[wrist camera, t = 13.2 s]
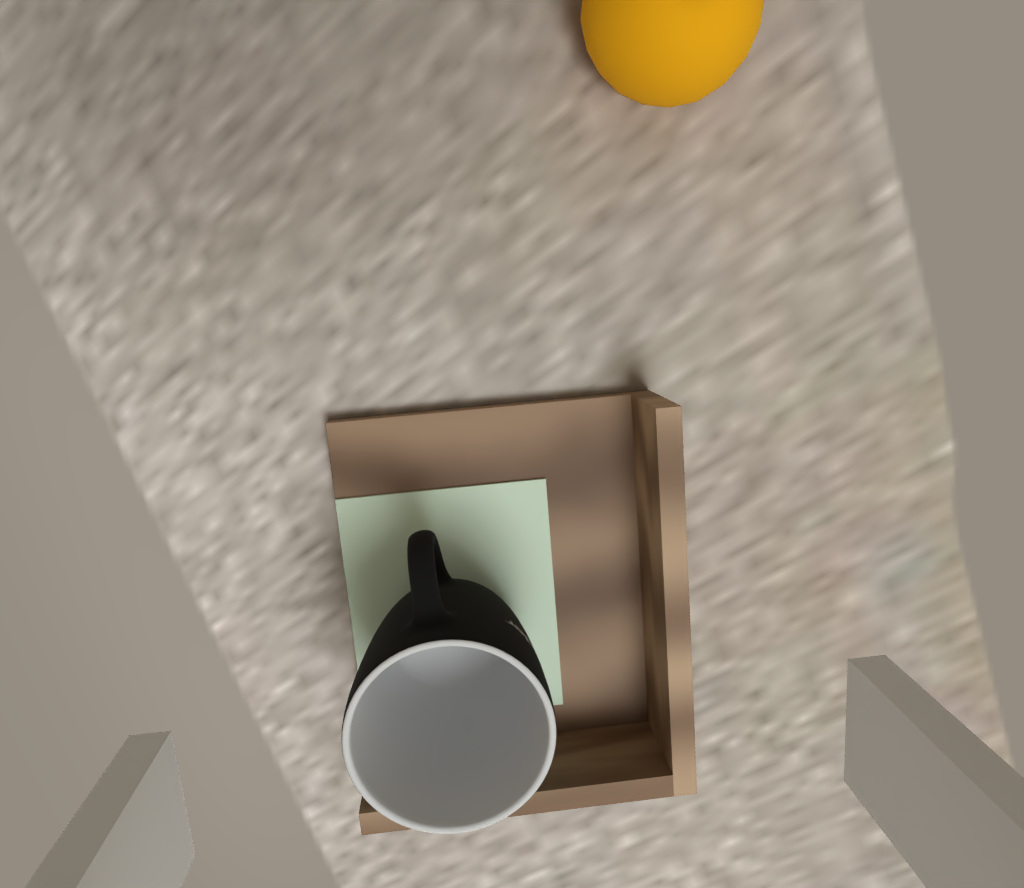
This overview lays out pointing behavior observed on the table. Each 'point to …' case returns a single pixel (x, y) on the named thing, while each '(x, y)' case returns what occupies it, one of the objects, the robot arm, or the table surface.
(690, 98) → the yellow orange fruit
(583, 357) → the table surface
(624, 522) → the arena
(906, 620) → the table surface
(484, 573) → the pad
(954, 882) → the robot arm
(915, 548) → the table surface
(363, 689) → the mug
